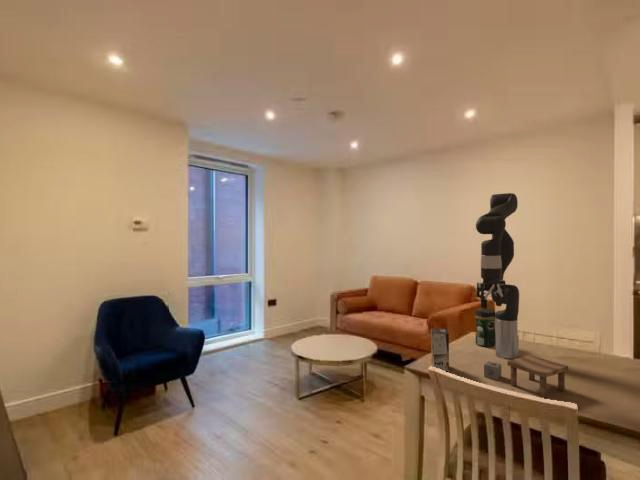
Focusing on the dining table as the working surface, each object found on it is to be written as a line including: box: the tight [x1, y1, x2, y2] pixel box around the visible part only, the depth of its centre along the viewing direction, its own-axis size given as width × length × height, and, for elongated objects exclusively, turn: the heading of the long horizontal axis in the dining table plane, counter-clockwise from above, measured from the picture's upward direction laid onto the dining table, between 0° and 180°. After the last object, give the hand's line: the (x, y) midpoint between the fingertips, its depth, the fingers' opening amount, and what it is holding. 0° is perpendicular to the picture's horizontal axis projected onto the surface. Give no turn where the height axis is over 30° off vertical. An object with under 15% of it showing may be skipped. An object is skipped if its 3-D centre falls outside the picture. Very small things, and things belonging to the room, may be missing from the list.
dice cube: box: [483, 361, 502, 381], centre depth 146 cm, size 5×5×5 cm
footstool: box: [506, 354, 569, 399], centre depth 135 cm, size 14×14×9 cm
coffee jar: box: [474, 307, 496, 348], centre depth 186 cm, size 10×8×19 cm
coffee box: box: [430, 327, 450, 373], centre depth 156 cm, size 9×6×16 cm
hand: (491, 307), depth 145 cm, fingers open, 8 cm apart
